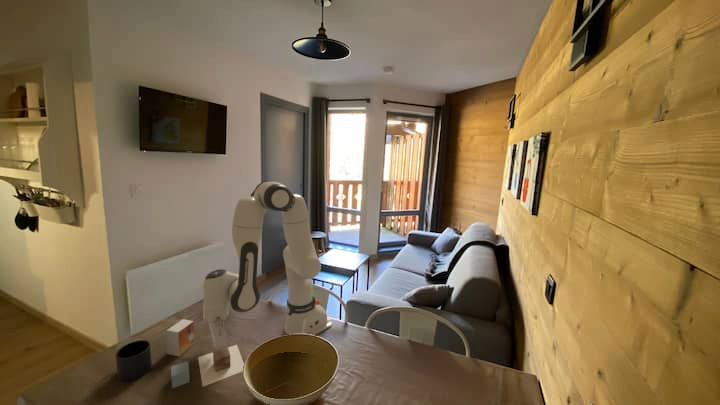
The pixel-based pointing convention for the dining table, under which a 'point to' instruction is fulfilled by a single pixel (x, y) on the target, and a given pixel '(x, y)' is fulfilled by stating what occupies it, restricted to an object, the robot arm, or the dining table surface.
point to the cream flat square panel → (211, 376)
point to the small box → (180, 337)
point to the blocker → (221, 359)
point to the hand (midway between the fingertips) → (216, 343)
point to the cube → (180, 374)
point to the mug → (133, 360)
